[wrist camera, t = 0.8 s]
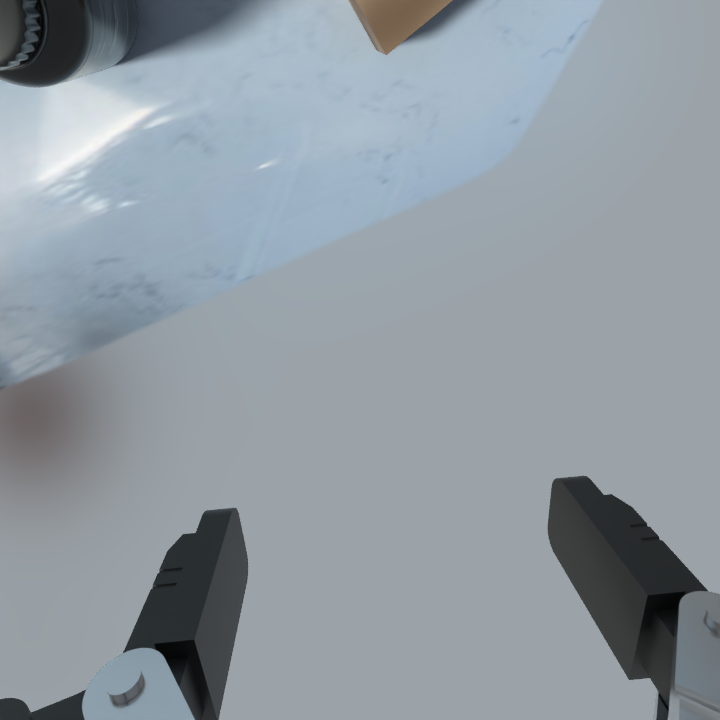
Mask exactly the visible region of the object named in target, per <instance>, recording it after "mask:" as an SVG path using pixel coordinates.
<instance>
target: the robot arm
mask: <svg viewBox="0 0 720 720" xmlns="http://www.w3.org/2000/svg"><path fill="white" fill-rule="evenodd" d="M548 535H549V540H550V544H551V547H552V549H553V552H554V553H555V555H556V557H557V558H558V560H559V562H560V564H561V565H562V567H563V568H564V570H565V572H566V574H567V575H568V577H569V579H570V581H571V582H572V584H573V586H574V587H575V589H576V591H577V592H578V594H579V596H580V598H581V599H582V601H583V603H584V604H585V606H586V607H587V609H588V611H589V613H590V614H591V616H592V618H593V620H594V621H595V623H596V625H597V626H598V628H599V630H600V631H601V633H602V635H603V636H604V638H605V640H606V641H607V643H608V645H609V647H610V648H611V650H612V652H613V653H614V655H615V657H616V658H617V660H618V662H619V663H620V665H621V667H622V669H623V670H624V672H625V674H626V675H627V677H628V679H629V680H633V679H643V678H651V680H652V682H653V683H654V685H655V686H656V688H657V694H656V699H655V708H654V719H653V720H720V594H717V593H713V592H709V591H708V590H707V589H706V588H705V587H704V586H703V585H702V584H701V583H700V582H699V580H697V578H696V577H695V576H694V575H693V574H692V573H691V572H690V571H689V570H688V568H687V567H686V566H685V565H684V564H683V563H682V562H681V561H680V559H679V558H678V557H677V556H676V555H675V554H674V553H673V552H672V551H671V550H670V549H669V547H668V546H667V545H666V544H665V543H664V542H663V541H662V540H659V536H658V535H657V534H656V533H655V532H654V531H653V530H652V529H651V527H648V526H647V523H646V522H645V521H644V520H643V519H642V518H641V516H640V515H639V514H638V513H637V512H636V511H635V510H634V509H633V508H632V507H631V506H629V505H628V504H626V503H625V502H623V501H621V500H620V499H618V498H616V497H615V496H613V495H612V494H610V495H603V494H602V492H601V491H600V490H599V489H598V488H597V487H596V485H595V484H594V483H593V482H592V481H591V480H590V479H589V478H588V477H587V476H578V477H568V478H558V479H557V478H556V479H555V480H554V481H553V483H552V489H551V499H550V510H549V519H548ZM247 576H248V558H247V552H246V547H245V542H244V537H243V533H242V528H241V523H240V518H239V513H238V511H237V509H236V508H228V509H218V510H207V511H205V512H204V513H203V515H202V518H201V521H200V523H199V526H198V528H197V531H196V533H191V534H183V535H182V536H181V537H180V538H179V539H178V540H177V541H176V543H175V544H174V545H173V546H172V547H171V548H170V549H169V550H168V551H167V554H166V556H165V558H164V560H163V563H162V565H161V567H160V572H159V573H158V574H157V576H156V579H155V581H154V584H153V589H151V590H150V593H149V595H148V597H147V600H146V602H145V604H144V606H143V609H142V611H141V613H140V616H139V618H138V620H137V623H136V625H135V627H134V629H133V632H132V634H131V637H130V639H129V641H128V643H127V646H126V648H125V650H124V652H123V653H122V654H121V655H119V656H117V657H115V658H114V659H112V660H111V661H109V662H108V663H107V664H106V665H105V666H103V667H102V669H100V670H99V672H98V673H97V674H96V675H95V676H94V678H93V679H92V680H91V682H90V684H89V685H88V687H87V689H86V690H84V691H82V692H81V693H78V694H76V695H74V696H71V697H69V698H67V699H64V700H61V701H59V702H56V703H54V704H52V705H49V706H47V707H44V708H42V709H39V710H37V711H34V712H32V713H31V712H30V710H29V708H28V707H27V705H26V704H25V703H24V702H23V701H21V700H19V699H15V698H5V699H0V720H218V719H219V714H220V710H221V705H222V700H223V695H224V690H225V685H226V681H227V676H228V671H229V666H230V661H231V656H232V652H233V647H234V642H235V636H236V632H237V627H238V623H239V618H240V613H241V608H242V603H243V598H244V594H245V589H246V583H247Z"/></svg>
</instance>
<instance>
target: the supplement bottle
mask: <svg viewBox="0 0 720 720" xmlns="http://www.w3.org/2000/svg"><path fill="white" fill-rule="evenodd" d="M136 30H137V10H136V3H135V0H0V80H3V81H6V82H8V83H11V84H15V85H19V86H24V87H34V88H36V87H48V86H53V85H57V84H61V83H64V82H67V81H70V80H73V79H76V78H80V77H83V76H86V75H89V74H92V73H95V72H98V71H101V70H104V69H107V68H109V67H112V66H113V65H115V64H117V63H118V62H119V61H121V60H122V59H123V58H124V57H125V56H126V54H127V53H128V52H129V50H130V48H131V47H132V44H133V42H134V39H135V35H136Z"/></svg>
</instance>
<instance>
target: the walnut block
mask: <svg viewBox="0 0 720 720" xmlns="http://www.w3.org/2000/svg"><path fill="white" fill-rule="evenodd" d="M451 1H453V0H349V2H350V3H351V5H352V7H353V9H354V11H355V12H356V14H357V16H358V18H359V20H360V21H361V23H362V25H363V27H364V29H365V30H366V32H367V34H368V36H369V38H370V39H371V41H372V43H373V45H374V47H375V48H376V50H377V51H379V52H381V53H384V54H386V55H387V54H388V53H390V52H391V51H392V50H393V49H394V48H396V47H397V46H398V45H399V44H400V43H402V42H403V41H404V40H405V39H407V38H408V37H409V36H410V35H411V34H413V33H414V32H415V31H416V30H417V29H419V28H420V27H421V26H422V25H424V24H425V23H426V22H427V21H428V20H430V19H431V18H432V17H433V16H434V15H436V14H437V13H438V12H439V11H441V10H442V9H443V8H444V7H445V6H447V5H448V4H449V3H450V2H451Z"/></svg>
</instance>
